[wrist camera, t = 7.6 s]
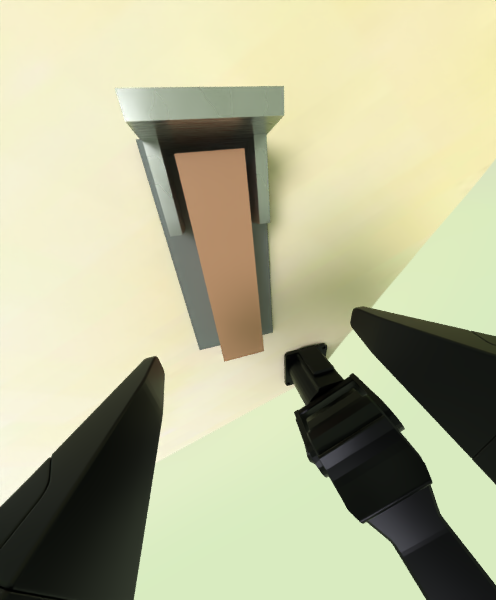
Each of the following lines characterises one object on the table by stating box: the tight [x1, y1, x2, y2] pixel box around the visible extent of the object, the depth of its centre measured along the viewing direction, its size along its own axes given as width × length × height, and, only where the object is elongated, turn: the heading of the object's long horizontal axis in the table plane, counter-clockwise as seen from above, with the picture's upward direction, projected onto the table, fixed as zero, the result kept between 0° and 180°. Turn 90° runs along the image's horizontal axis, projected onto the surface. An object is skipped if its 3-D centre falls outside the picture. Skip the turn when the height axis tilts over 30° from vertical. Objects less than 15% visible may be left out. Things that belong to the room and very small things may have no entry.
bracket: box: [115, 86, 284, 237], centre depth 12 cm, size 6×7×6 cm
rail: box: [174, 148, 264, 362], centre depth 16 cm, size 16×4×4 cm, turn 7°
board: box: [136, 139, 273, 350], centre depth 18 cm, size 19×9×1 cm, turn 6°
